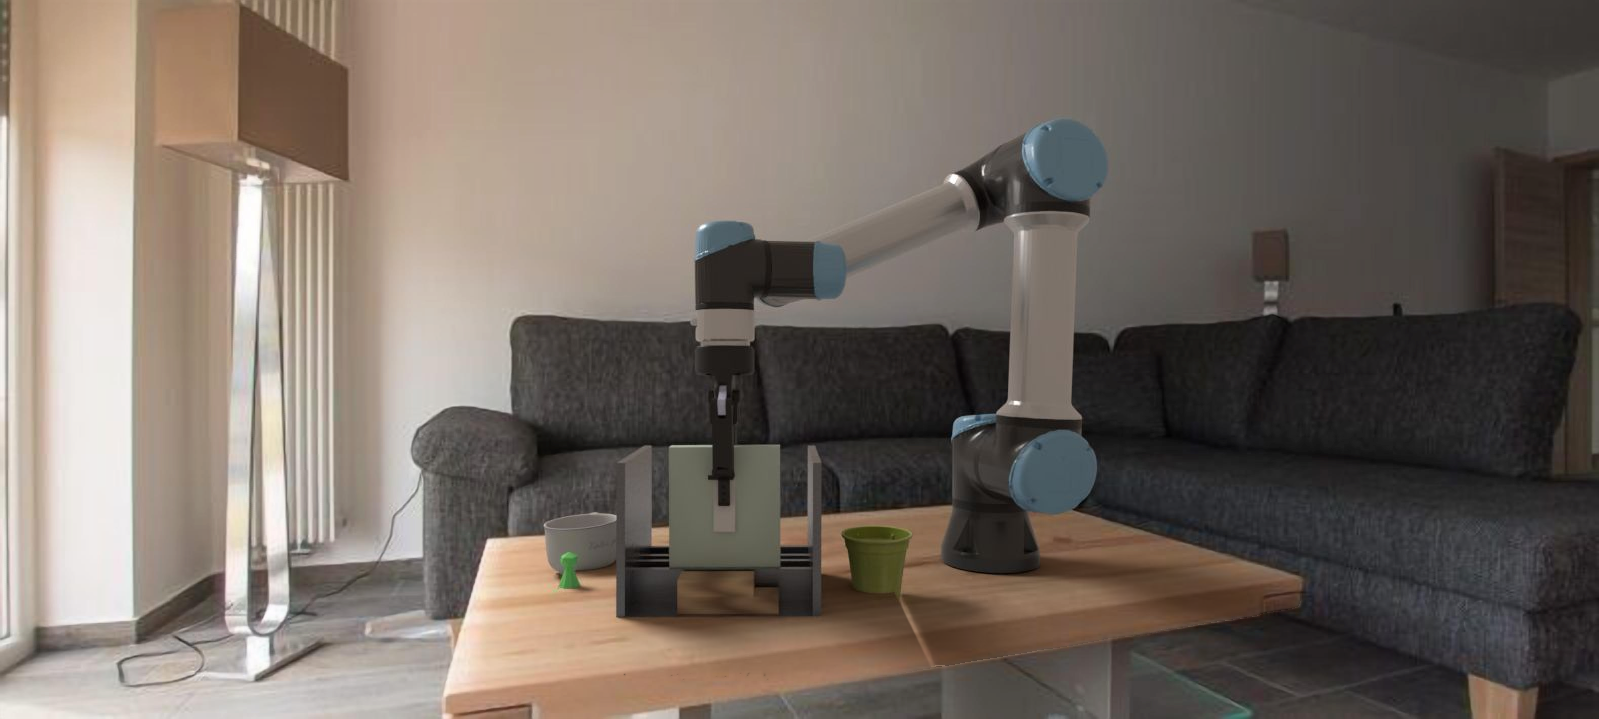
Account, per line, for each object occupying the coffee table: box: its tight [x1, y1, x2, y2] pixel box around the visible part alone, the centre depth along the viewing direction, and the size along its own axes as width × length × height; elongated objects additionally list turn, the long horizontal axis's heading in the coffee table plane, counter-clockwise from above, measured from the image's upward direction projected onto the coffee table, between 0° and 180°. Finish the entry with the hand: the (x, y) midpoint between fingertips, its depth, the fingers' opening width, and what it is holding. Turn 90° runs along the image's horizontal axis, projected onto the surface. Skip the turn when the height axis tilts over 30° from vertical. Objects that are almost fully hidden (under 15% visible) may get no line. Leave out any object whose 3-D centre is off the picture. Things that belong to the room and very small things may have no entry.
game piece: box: [552, 552, 581, 595], centre depth 109 cm, size 4×4×6 cm
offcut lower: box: [677, 587, 779, 614], centre depth 99 cm, size 12×4×2 cm, turn 91°
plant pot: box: [840, 525, 913, 600], centre depth 108 cm, size 9×9×9 cm
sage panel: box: [668, 444, 781, 567], centre depth 104 cm, size 14×2×18 cm, turn 91°
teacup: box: [543, 511, 616, 576], centre depth 123 cm, size 14×11×8 cm
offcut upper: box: [677, 571, 755, 597], centre depth 99 cm, size 9×4×2 cm, turn 91°
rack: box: [615, 445, 823, 618], centre depth 105 cm, size 24×20×20 cm
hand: (725, 528), depth 104 cm, fingers closed on sage panel, 2 cm apart
